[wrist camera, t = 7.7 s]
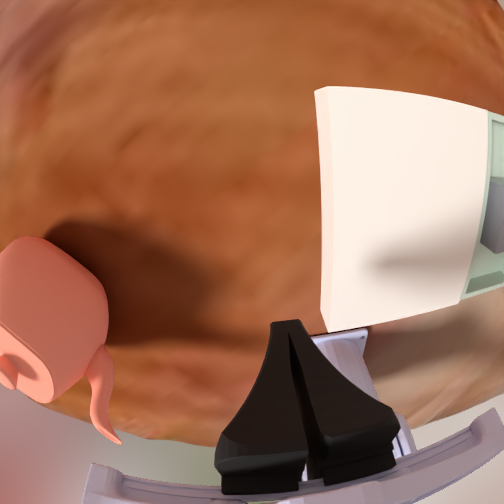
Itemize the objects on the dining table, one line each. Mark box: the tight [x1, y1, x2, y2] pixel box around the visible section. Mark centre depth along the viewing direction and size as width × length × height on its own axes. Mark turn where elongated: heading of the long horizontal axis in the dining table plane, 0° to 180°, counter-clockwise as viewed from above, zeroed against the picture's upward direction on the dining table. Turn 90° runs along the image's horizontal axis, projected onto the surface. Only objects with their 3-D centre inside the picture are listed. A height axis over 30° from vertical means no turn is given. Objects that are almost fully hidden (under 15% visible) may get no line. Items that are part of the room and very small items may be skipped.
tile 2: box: [480, 176, 504, 254], centre depth 18 cm, size 6×4×2 cm
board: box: [314, 86, 488, 333], centre depth 19 cm, size 18×14×3 cm
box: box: [460, 111, 504, 300], centre depth 18 cm, size 18×10×3 cm, turn 7°
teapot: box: [0, 236, 122, 445], centre depth 18 cm, size 13×20×12 cm, turn 53°
